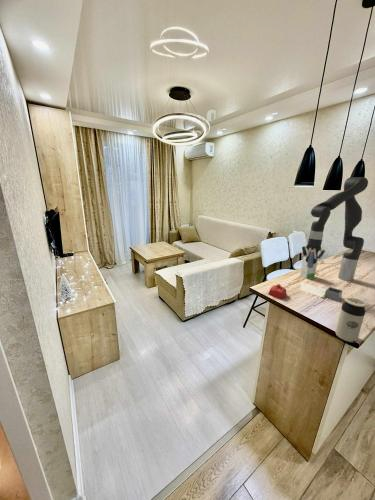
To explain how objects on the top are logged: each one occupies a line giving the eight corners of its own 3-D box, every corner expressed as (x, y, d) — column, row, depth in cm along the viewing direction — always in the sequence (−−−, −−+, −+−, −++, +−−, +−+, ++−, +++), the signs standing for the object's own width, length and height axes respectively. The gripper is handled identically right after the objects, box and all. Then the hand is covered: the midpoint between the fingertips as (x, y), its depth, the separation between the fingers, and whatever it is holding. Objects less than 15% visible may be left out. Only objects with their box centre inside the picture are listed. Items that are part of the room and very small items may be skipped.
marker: (307, 266, 142) (311, 248, 139) (313, 267, 140) (317, 249, 136) (305, 267, 140) (309, 249, 137) (311, 268, 137) (315, 250, 134)
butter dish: (283, 303, 122) (285, 290, 120) (264, 297, 129) (265, 284, 127) (289, 296, 130) (291, 284, 128) (271, 290, 137) (272, 279, 135)
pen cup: (328, 293, 134) (329, 286, 133) (340, 298, 129) (342, 290, 128) (324, 297, 130) (325, 290, 128) (337, 301, 125) (339, 294, 123)
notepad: (301, 283, 149) (301, 282, 149) (330, 292, 136) (331, 291, 136) (293, 289, 140) (293, 287, 140) (323, 299, 127) (323, 297, 127)
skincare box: (305, 279, 156) (309, 259, 151) (299, 276, 162) (302, 257, 158) (314, 278, 158) (318, 258, 154) (307, 275, 164) (311, 256, 160)
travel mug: (336, 328, 100) (344, 294, 95) (357, 336, 95) (367, 300, 90) (334, 337, 94) (343, 301, 89) (356, 345, 89) (367, 308, 84)
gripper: (330, 239, 132) (324, 264, 136) (306, 235, 142) (301, 259, 147) (326, 240, 127) (320, 267, 132) (301, 236, 137) (297, 261, 142)
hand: (310, 262), depth 139 cm, fingers closed on marker, 3 cm apart
